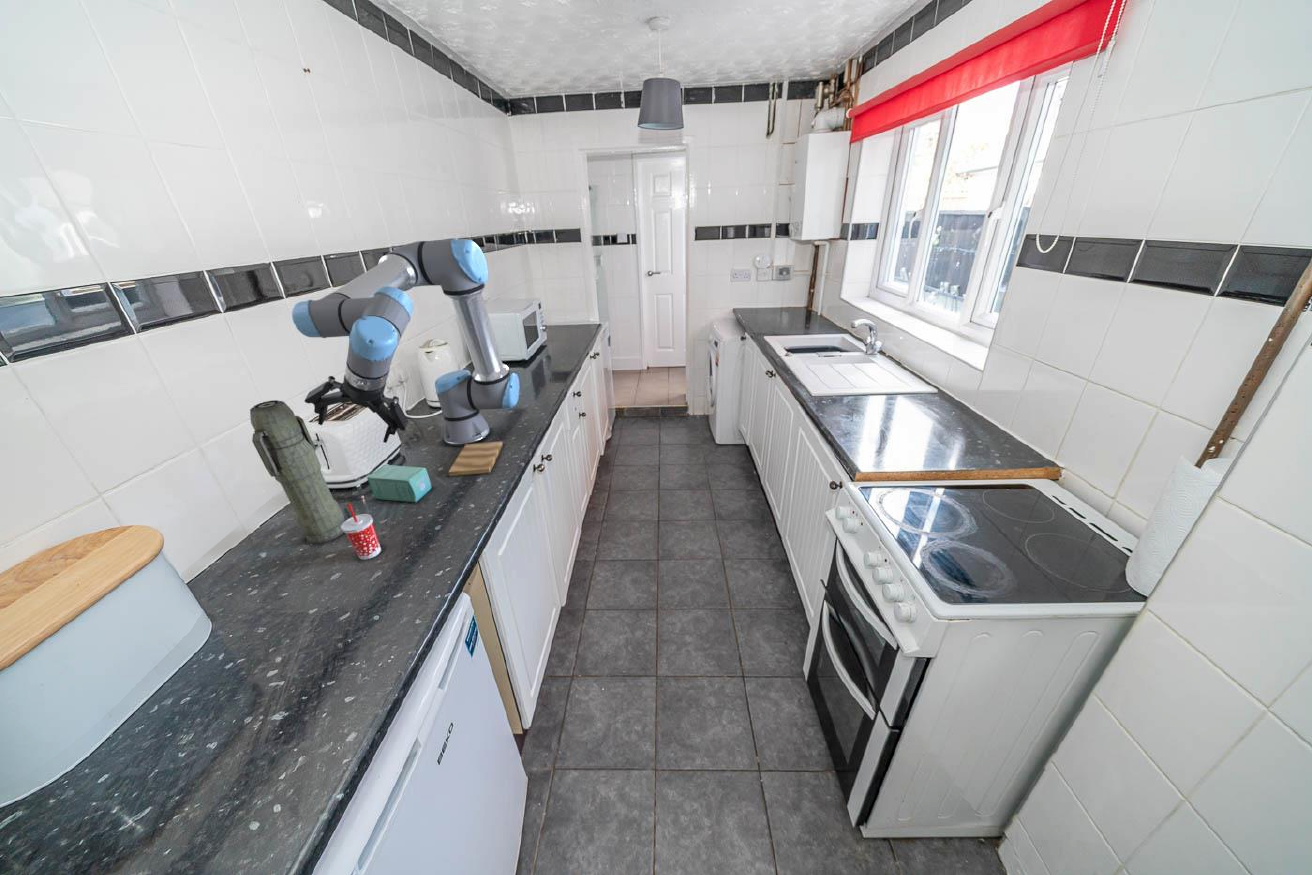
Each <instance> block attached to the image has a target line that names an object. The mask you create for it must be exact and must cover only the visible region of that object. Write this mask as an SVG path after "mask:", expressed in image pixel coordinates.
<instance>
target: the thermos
mask: <svg viewBox="0 0 1312 875" xmlns="http://www.w3.org/2000/svg"><path fill="white" fill-rule="evenodd" d="M249 415H250V424H251V425H252V428H253V430H254V431H253V434H252V439H251V442H252V444H253V446H254V448H255V450H256V452H257V453H258V456H259V457H260V460H261V461H262V463H263V465H264V467H265V469H266V471H267V472H268V474H269V476H270V477H274V480H275V481H276V482H278V483H279V484H280V485H281V487H282V489H283V492H284V493H285V495H286V497H287V499H288V501H289V503H290V505H291V507H292V510H293V511H294V513H295V521H296V523H297V525H298V527H299V529H300V532H301V533H302V534H303V535H304V536H305V538H306V541H307V542H308V543H310V544H315V545H316V544H322V543H323V544H324V543H326V542H330V541H332V540H334V539H336V538H338V537H339V536H341V535H342V534H344V532H343V530H342V528H341V526H342V524H343V523H344V522H345V521H346V520H345V515H344V513H343V510H342V509H341V506H340V504H339V502H337V501H336V500H335V499H334V497H333V495H332V493H331V491H330V489H329V486H328V483H327V482H326V480H325V477H324V475H323V473H322V470H321V469H322V464H321V462H320V460H319V459H318V456H317V454H316V450H317V448H316V445H315V443H314V441H313V439H312V437H311V435H310V432H309V430H308V428H307V425H306V423H305V421H304V419H303V418H302V417H300V416H299V415H295V413H294V411H293V410H292V408H291V407H290V406H289V405H288V404H287V403H286V402H285V401H283V400H277V399H275V400H267V401H263V402H260V403H257V404H255V405H253V407H251V408H250V409H249Z"/></svg>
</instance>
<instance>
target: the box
mask: <svg viewBox="0 0 1312 875" xmlns="http://www.w3.org/2000/svg"><path fill="white" fill-rule="evenodd" d="M366 479H367V481H368V484H369V487H370V489H371V492H372V495H373V498H374V499H375V500H384V501H395V502H408V503H417V502H418V501H419V500H420V499H422V498H423V497H424V496H425V495H426V494H427V493H429V491H431V490H432V482H431V479H430V476H429V473H428V470H427V468H425V467H422V466H407V465H395V464H394V465H393V464H384V465H382V467H380V468H378V469H377V470H375V471H373V472H372V473H370V474H369V475H368V476H367V477H366Z"/></svg>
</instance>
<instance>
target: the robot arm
mask: <svg viewBox="0 0 1312 875" xmlns="http://www.w3.org/2000/svg"><path fill="white" fill-rule="evenodd" d="M488 269H489V267H488V262H487V260H486V257H485V255H484V252H483V251H482V249H481V247H480V246H479V245H478V244H477V243H476V242H475V241H474V240H471V239H469V238H464V239H463V238H460V239H459V238H448V239H436V240H435V239H434V240H419V241H414V242H410V243H407V244H405V245H403V246H400V247H398V248H396V249H394V250H391V251H390V252H388V253H386V254H385V255H383V256H381V257H380V259H379V260H378V262H377V265H375V266H373V267H372V268H370V269H368V270H367V271H365V272H363V273H362V274H360V275H358V276H357V277H355V278H353V279H352V280H350V281H349V282H347V283H345V284H344V285H342V286H341V287H338V288H337V289H336V290H333V291H332V292H331V293H329V294H327V295H325V296H324V297H322V298H320V299H316V300H314V299H308V300H303V301H299V302H297V303H296V304H295V305H294V306H293V308H292V311H291V318H292V322H293V324H294V325H295V327H296V329H297V330H298V332H299V333H301V334H302V335H303V336H305V337H308V338H321V339H327V338H340V337H348V339H349V340H348V349H347V356H346V361H345V368H344V375H343V382H340V381H337V380H336V377H335V376H333V375H329V376H328V377H327V379H326V381H325V382H323V383H321V384H319V385H318V386H316V387H315V388H313V389H312V390H311V391H308V393H307V395H306V396H305V399H304V403H306V404H308V405H309V404H312V405H313V406H314V409H313V411H314V414H317V415H318V420H317V421H318V422H317V425H319V426H323V424H324V423H325V420H326V418H327V416H328V407H329V406H332V405H337V404H340V403H341V404H346V403H351V404H353V405H357V406H361V407H363V408H365V409H369V410H370V411H371V412H372V413H373V414H376V415H377V416H378V417H379V418H380V419H381V420H382V421H383V422H384V423H385V424H386V425H387V427H386V430H385V434H384V436H383V437H384V438H383V440H382V443H385V444H386V443H387V442H388V440H389V437H390V435H391V436H395V435H396V432H397V431H398V429H399V430H400V431H403V432H405V431H406V429H407V427H408V425H409V424H408V423H409V420H408V418H407V417H406V414H405V413H404V410H403V408H402V407H401V405H400V398H399V397H398V396H396V395H394V396H392V397H388V396H386V395H385V394H384V393H385V389H386V385H387V381H388V378H389V373H390V369H391V365H392V362H393V358H394V355H395V353H396V351H397V348H398V346H399V344H400V341H401V339H402V337H403V335H404V332H405V330H406V328H407V326H408V325H409V323H410V321H411V318H412V313H413V311H414V302H413V301H412V299H411V297H410V296H409V295H408V294H407V293H406V292H407V291H410V290H411V289H413V288H416V287H429V286H435V287H436V286H440V287H441V290H442V293H443V295H444V296H446V297H447V298H449V299H451V301H452V306H453V308H454V311H455V315H456V317H457V320H458V323H459V326H460V329H461V331H462V334H463V338H464V341H465V343H466V346H467V349H468V352H469V355H470V358H471V361H472V364H473V367H474V371H473V372H472V373H471V371H470V370H468V369H459V370H455V371H451V372H448V373H445V374H442V375H441V376H439V377H437V378H436V380H435V381H434V388H435V394H436V395H437V399H438V403H439V405H440V409H441V413H442V417H443V419H444V426H443V427H444V428H443V440H444V444H446V445H448V446H450V447H464V446H465V445H466V444H477V443H481V442H483V441H484V440H486V439H487V438H488V437H489V436H490V435H491V429H490V426H489V424H488V422H487V421H486V420H485V418H484V417H483V415H482V414H481V411H482V410H499V409H500V410H501V409H502V410H504V409H505V410H506V409H512V408H515V407H516V406H517V404H518V401H519V398H520V397H519V396H520V378H519V376H518V374H517V373H516V372H515V373H514V372H511V371H510V368H509V366H508V365H507V364H506V363H503V361H502V357H501V354H500V351H499V348H498V344H497V340H496V337H495V334H494V330H493V327H492V323H491V320H490V317H489V313H488V310H487V306H486V303H485V300H484V296H483V291H484V289H485V288H486V284H485V283H486V282H488V279H489V270H488ZM336 389H339V390H338V391H335V392H333V391H334V390H336ZM329 392H330V393H329ZM480 410H481V411H480Z"/></svg>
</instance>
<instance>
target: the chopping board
mask: <svg viewBox="0 0 1312 875" xmlns="http://www.w3.org/2000/svg"><path fill="white" fill-rule="evenodd" d="M502 448H503V442H502V441H489V442H478V443H475V444H466V445H465V446H463V448H462V449H461V451H460V452H459V455H458V456H457V458H456V459H455V460H454V462H453V464H452V465H451V467H450V469H448V470H449V471H448V475H449V477H456V476H467V475H480V474H490V473H491V471H492V469H493V467H494V465H495V463H496V460H497V458H498V456H499V455H500V452H501V450H502Z"/></svg>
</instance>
